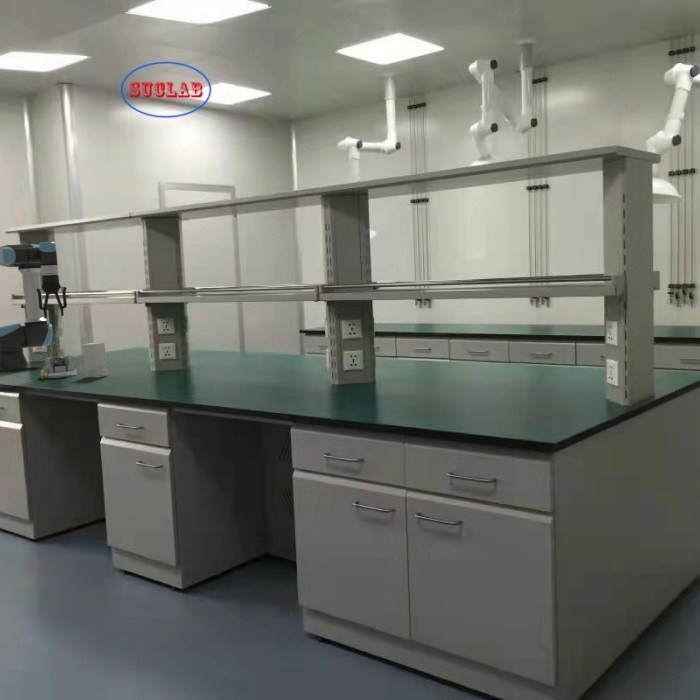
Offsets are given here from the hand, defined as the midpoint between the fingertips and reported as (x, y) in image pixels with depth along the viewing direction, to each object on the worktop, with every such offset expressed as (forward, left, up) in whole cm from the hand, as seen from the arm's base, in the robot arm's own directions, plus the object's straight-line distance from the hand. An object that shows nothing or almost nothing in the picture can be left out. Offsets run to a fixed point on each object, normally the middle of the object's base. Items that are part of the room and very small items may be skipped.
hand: (54, 323), depth 364 cm
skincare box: (+22, +15, -25) cm, 37 cm away
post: (+10, -8, -25) cm, 28 cm away
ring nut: (+6, 0, -22) cm, 23 cm away
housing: (+6, 0, -25) cm, 25 cm away
